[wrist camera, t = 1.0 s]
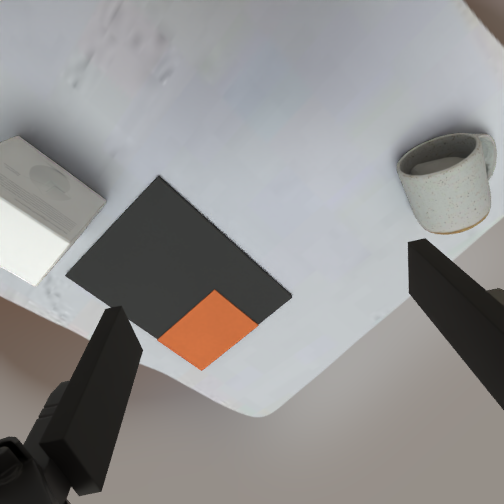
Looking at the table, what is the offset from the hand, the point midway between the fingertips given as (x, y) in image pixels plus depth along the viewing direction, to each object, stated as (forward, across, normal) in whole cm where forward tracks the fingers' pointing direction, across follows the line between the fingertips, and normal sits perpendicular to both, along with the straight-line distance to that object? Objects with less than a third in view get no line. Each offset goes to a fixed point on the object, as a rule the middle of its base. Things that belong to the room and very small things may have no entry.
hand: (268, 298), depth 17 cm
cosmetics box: (+25, -21, +2) cm, 33 cm away
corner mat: (+25, -11, -13) cm, 30 cm away
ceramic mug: (+25, +21, -5) cm, 33 cm away
